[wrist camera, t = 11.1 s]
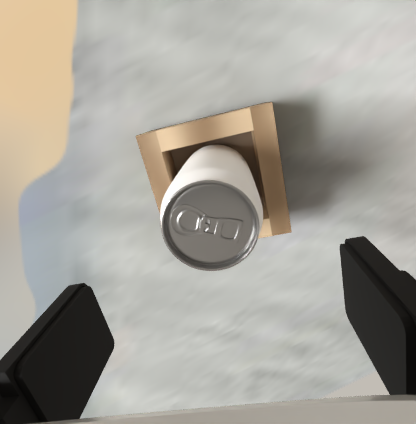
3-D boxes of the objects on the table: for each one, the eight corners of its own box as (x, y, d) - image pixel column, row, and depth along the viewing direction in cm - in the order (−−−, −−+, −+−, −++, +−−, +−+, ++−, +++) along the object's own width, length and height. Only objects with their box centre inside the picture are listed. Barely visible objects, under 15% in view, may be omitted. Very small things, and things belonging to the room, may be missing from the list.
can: (189, 136, 26) (161, 161, 15) (257, 151, 26) (281, 186, 15) (178, 202, 28) (146, 265, 17) (241, 215, 28) (251, 286, 17)
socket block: (264, 102, 26) (272, 102, 21) (282, 213, 29) (291, 232, 25) (149, 131, 27) (135, 136, 23) (179, 233, 31) (172, 254, 27)
